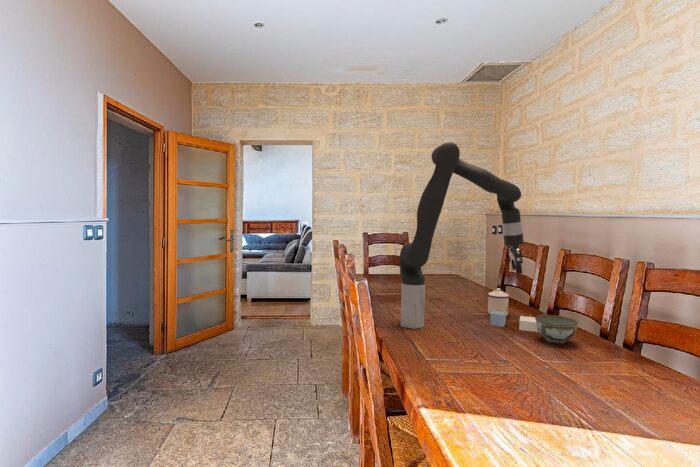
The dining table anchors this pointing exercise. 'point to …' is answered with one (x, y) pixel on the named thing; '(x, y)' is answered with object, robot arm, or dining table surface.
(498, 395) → the dining table surface
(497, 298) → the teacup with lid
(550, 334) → the bowl
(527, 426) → the dining table surface
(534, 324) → the slab
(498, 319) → the cube
